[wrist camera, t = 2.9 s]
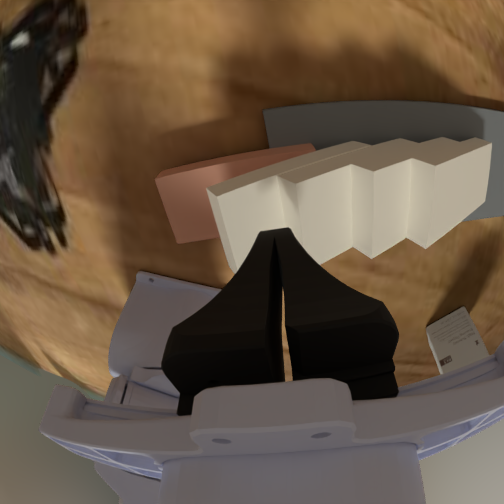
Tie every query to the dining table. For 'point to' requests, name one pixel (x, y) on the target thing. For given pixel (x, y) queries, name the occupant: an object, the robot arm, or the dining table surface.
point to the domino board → (394, 131)
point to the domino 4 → (446, 188)
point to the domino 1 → (258, 201)
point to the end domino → (205, 175)
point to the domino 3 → (384, 196)
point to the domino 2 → (325, 200)
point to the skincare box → (455, 341)
